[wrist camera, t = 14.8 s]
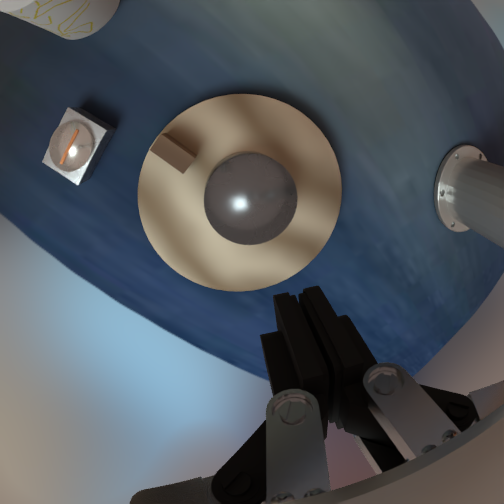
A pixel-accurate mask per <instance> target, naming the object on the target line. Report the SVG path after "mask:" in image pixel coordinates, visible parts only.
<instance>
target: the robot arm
mask: <svg viewBox="0 0 504 504" xmlns="http://www.w3.org/2000/svg"><path fill="white" fill-rule="evenodd" d="M434 203H435V208H436V212H437V215H438V217H439V219H440V221H441V222H442V223H443V224H444V225H445V226H446V227H447V228H449V229H450V230H452V231H455V232H463V231H466V230H468V229H472V230H474V231H475V232H477V233H479V234H480V235H482V236H484V237H485V238H487V239H489V240H490V241H492V242H494V243H495V244H497V245H498V246H500V247H502V248H503V249H504V167H503V166H500V165H496V164H493V163H490V162H488V161H487V159H486V157H485V156H484V154H483V153H482V152H481V151H480V150H479V149H478V148H476V147H474V146H470V145H460V146H457V147H455V148H454V149H452V150H451V151H450V152H449V153H448V154H447V155H446V157H445V158H444V160H443V161H442V163H441V165H440V167H439V170H438V173H437V176H436V181H435V187H434ZM273 300H274V307H275V315H276V322H277V329H278V331H276V332H272V333H267V334H262V335H260V338H261V343H262V348H263V353H264V358H265V363H266V368H267V372H268V376H269V381H270V384H271V389H272V393H273V398H271V400H270V401H269V403H268V405H267V408H266V420H265V421H264V422H263V423H262V425H261V426H260V427H259V428H258V429H257V430H256V431H255V432H254V434H253V435H252V436H251V437H250V438H249V439H248V440H247V441H246V442H245V443H244V444H243V446H242V447H241V448H240V449H239V450H238V451H237V452H236V453H235V454H234V455H233V456H232V457H231V458H230V459H229V460H228V461H227V462H226V464H225V465H223V466H222V468H221V469H219V470H218V471H217V473H216V474H215V475H214V476H210V477H206V478H203V479H202V477H198V478H194V479H190V480H187V481H183V482H179V483H174V484H169V485H165V486H160V487H155V488H150V489H144V490H141V491H139V492H137V493H136V494H135V495H134V496H132V499H131V501H130V504H504V380H503V381H501V382H498V383H495V384H493V385H490V386H487V387H484V388H481V389H479V390H475V391H472V392H470V393H469V394H468V395H467V396H464V395H461V394H458V393H453V392H449V391H445V390H440V389H436V388H432V387H428V386H424V385H420V384H418V383H417V382H416V381H415V380H414V379H413V378H412V377H411V375H410V374H409V373H408V372H407V371H406V370H405V369H404V368H402V367H401V366H399V365H397V364H395V363H389V362H385V363H379V364H378V363H377V361H376V360H375V358H374V356H373V355H372V353H371V351H370V350H369V348H368V347H367V345H366V343H365V342H364V340H363V339H362V337H361V335H360V334H359V332H358V331H357V329H356V327H355V326H354V324H353V323H352V321H351V320H350V318H349V317H348V316H347V315H343V316H339V317H337V315H336V313H335V312H334V310H333V308H332V307H331V305H330V303H329V302H328V300H327V298H326V297H325V295H324V293H323V292H322V290H321V288H320V287H319V286H314V287H309V288H305V289H303V293H301V294H299V303H298V301H297V298H296V296H295V295H292V296H290V295H289V293H288V292H287V293H282V294H277V295H273ZM328 420H329V422H330V423H333V422H335V423H336V426H337V428H338V429H341V428H344V430H345V432H348V433H351V434H353V437H354V440H355V441H356V443H357V444H358V446H359V448H360V449H361V451H362V452H363V454H364V455H365V457H366V459H367V460H368V462H369V463H370V465H371V466H372V468H373V470H374V471H375V473H376V474H377V475H376V476H373V477H371V478H368V479H365V480H363V481H360V482H357V483H354V484H351V485H348V486H345V487H342V488H339V489H336V490H332V491H331V489H330V480H329V472H328V466H327V458H326V450H325V443H324V440H325V439H326V437H327V427H328Z"/></svg>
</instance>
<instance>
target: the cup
mask: <svg viewBox="0 0 504 504" xmlns="http://www.w3.org/2000/svg"><path fill="white" fill-rule="evenodd" d="M119 2H120V0H0V11H2V12H5V13H7V14H10V15H13V16H15V17H18V18H20V19H22V20H25V21H27V22H30V23H32V24H34V25H37V26H39V27H41V28H43V29H46V30H48V31H50V32H52V33H54V34H56V35H59V36H61V37H63V38H65V39H70V40H75V39H81V38H84V37H87V36H89V35H91V34H93V33H95V32H96V31H98V30H99V29H101V28H102V27H103V26H104V25H105V24H106V23H107V22H108V21H109V20H110V19H111V18H112V16H113V15H114V13H115V12H116V10H117V8H118V5H119Z"/></svg>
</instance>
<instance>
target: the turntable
mask: <svg viewBox="0 0 504 504" xmlns="http://www.w3.org/2000/svg"><path fill="white" fill-rule="evenodd" d="M242 151H255V152H259V153H262V154H265V155H267V156H269V157H271V158H272V159H274V160H276V161H277V162H279V163H280V164H281V165H283V166H284V167H285V168H286V169H287V170H288V172H289V173H290V174H291V176H292V178H293V180H294V182H295V185H296V189H297V196H298V200H297V208H296V212H295V214H294V217H293V219H292V221H291V222H290V224H289V225H288V227H287V228H286V229H285V230H284V231H283V232H282V233H281V234H279V235H278V236H277V237H275V238H274V239H272V240H270V241H268V242H265V243H262V244H257V245H242V244H237V243H234V242H231V241H229V240H227V239H225V238H223V237H222V236H221V235H219V234H218V233H217V232H216V231H215V230H214V229H213V227H212V226H211V224H210V223H209V221H208V219H207V216H206V213H205V209H204V192H205V185H206V181H207V178H208V176H209V174H210V172H211V171H212V169H213V168H214V167H215V165H216V164H217V163H218V162H220V161H221V160H222V159H224V158H225V157H227V156H229V155H231V154H234V153H237V152H242ZM341 194H342V186H341V175H340V170H339V166H338V162H337V160H336V157H335V154H334V152H333V150H332V148H331V146H330V144H329V142H328V140H327V139H326V137H325V136H324V135H323V133H322V132H321V130H320V129H319V128H318V127H317V126H316V125H315V124H314V123H313V122H312V121H311V120H310V119H309V118H308V117H306V116H305V115H304V114H303V113H301V112H300V111H298V110H297V109H295V108H293V107H292V106H290V105H288V104H286V103H283V102H281V101H278V100H276V99H273V98H269V97H265V96H261V95H252V94H231V95H225V96H219V97H215V98H212V99H209V100H206V101H203V102H201V103H199V104H196V105H194V106H192V107H190V108H189V109H187V110H186V111H184V112H183V113H181V114H180V115H178V116H177V117H176V118H175V119H173V120H172V121H171V122H170V123H169V124H168V125H167V126H166V127H165V128H164V129H163V130H162V132H161V133H160V134H159V135H158V136H157V138H156V139H155V141H154V142H153V144H152V146H151V147H150V149H149V151H148V153H147V156H146V158H145V160H144V162H143V166H142V169H141V173H140V178H139V185H138V206H139V213H140V217H141V221H142V224H143V228H144V230H145V232H146V235H147V237H148V239H149V241H150V242H151V244H152V246H153V247H154V249H155V250H156V252H157V253H158V254H159V255H160V257H161V258H162V259H163V260H164V261H165V262H166V263H167V264H168V265H169V266H170V267H171V268H172V269H174V270H175V271H176V272H178V273H179V274H181V275H182V276H184V277H186V278H187V279H189V280H191V281H193V282H195V283H198V284H200V285H203V286H206V287H209V288H213V289H218V290H225V291H249V290H256V289H261V288H265V287H268V286H271V285H274V284H277V283H279V282H281V281H283V280H286V279H288V278H289V277H291V276H293V275H294V274H296V273H297V272H299V271H300V270H301V269H303V268H304V267H305V266H307V265H308V264H309V263H310V262H311V261H312V260H313V259H314V258H315V257H316V256H317V254H318V253H319V252H320V251H321V249H322V248H323V247H324V245H325V244H326V242H327V240H328V239H329V237H330V235H331V233H332V231H333V229H334V227H335V224H336V221H337V218H338V215H339V210H340V205H341Z"/></svg>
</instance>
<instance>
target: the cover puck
mask: <svg viewBox="0 0 504 504" xmlns="http://www.w3.org/2000/svg"><path fill="white" fill-rule="evenodd" d="M297 200H298V196H297V189H296V185H295V182H294V180H293V178H292V176H291V174H290V173H289V172H288V170H287V169H286V168H285V167H284V166H283V165H281V164H280V163H279V162H277V161H276V160H274V159H272V158H271V157H269V156H267V155H265V154H262V153H259V152H255V151H242V152H237V153H234V154H231V155H229V156H227V157H225V158H224V159H222V160H221V161H220V162H218V163H217V164H216V165H215V167H214V168H213V169H212V171H211V172H210V174H209V176H208V178H207V181H206V185H205V192H204V209H205V213H206V216H207V219H208V221H209V223H210V224H211V226H212V227H213V229H214V230H215V231H216V232H217V233H218V234H219V235H221V236H222V237H223V238H225V239H227V240H229V241H231V242H234V243H237V244H242V245H257V244H262V243H265V242H268V241H270V240H272V239H274V238H275V237H277V236H278V235H279V234H281V233H282V232H283V231H284V230H285V229H286V228H287V227H288V225H289V224H290V222H291V221H292V219H293V217H294V214H295V212H296V208H297Z"/></svg>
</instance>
